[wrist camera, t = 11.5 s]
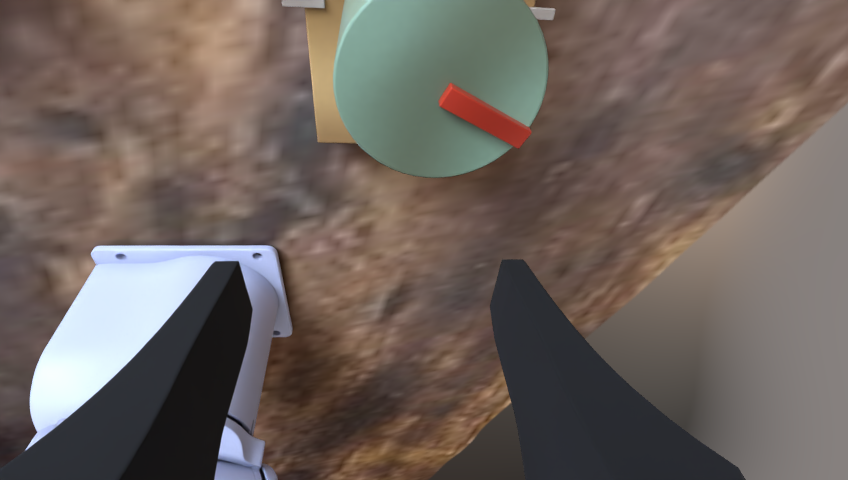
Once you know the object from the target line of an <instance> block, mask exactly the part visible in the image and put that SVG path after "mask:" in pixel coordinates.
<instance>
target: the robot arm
mask: <svg viewBox="0 0 848 480" xmlns="http://www.w3.org/2000/svg"><path fill="white" fill-rule="evenodd" d="M256 253H260V254H261V255H257V254H256ZM123 254H124V255H123ZM91 256H92V258H93V260H94V261H95V263H96V266H95V268H94V270H93V271H92V273H91V275H90V276H89V278H88V279H87V281H86V283H85V284H84V286H83V288H82V289H81V291H80V292H79V294H78V296H77V297H76V299H75V301H74V302H73V304H72V305H71V307H70V309H69V310H68V312H67V314H66V315H65V317H64V318H63V320H62V322H61V323H60V325H59V327H58V328H57V330H56V331H55V333H54V335H53V336H52V338H51V340H50V341H49V343H48V345H47V346H46V348H45V349H44V351H43V353H42V355H41V357H40V359H39V362H38V365H37V367H36V370H35V374H34V377H33V382H32V387H31V393H30V412H31V416H32V420H33V423H34V426H35V428H36V430H37V432H38V433H37V434H36V435H35V437H34V438H33V439H32V441H31V442H30V444H29V446H28V447H27V449H26V450H25V451H24V452H23V453H21V454H20V455H19V456H17V457H16V458H15V459H13V460H12V461H11V462H9V463H8V464H6V465H5V466H4V467H2V468H1V469H0V480H278V478H277V475H276V473H275V471H274V470H273V468H271V467H270V466H269V465H267V464H263V463H262V459H263V454H264V448H265V441H263V440H260V439H257V438H255V437H253V433H254V428H255V423H256V418H257V413H258V408H259V403H260V398H261V392H262V387H263V382H264V377H265V372H266V367H267V362H268V357H269V352H270V346H271V341H272V337H288V336H290V335H291V334H292V330H293V327H292V322H291V317H290V312H289V307H288V302H287V297H286V292H285V287H284V282H283V277H282V272H281V267H280V262H279V257H278V252H277V250H276V249H275V248H274V247H272V246H267V245H251V246H96V247H95V248H94V249H93V251H92V253H91ZM490 310H491V317H492V325H493V331H494V338H495V342H496V346H497V350H498V354H499V358H500V361H501V365H502V369H503V372H504V376H505V380H506V384H507V387H508V391H509V395H510V398H511V402H512V405H513V410H514V414H515V418H516V423H517V427H518V434H519V440H520V445H521V452H522V458H523V465H524V472H525V479H526V480H746V479H745V478H744V476H743V475H742V473H741V472H740V470H739V468H738V467H736V466H735V465H733V464H732V463H730V462H729V461H728V460H726V459H725V458H723V457H722V456H720V455H719V454H717V453H716V452H714V451H713V450H711V449H710V448H709V447H707V446H706V445H704V444H703V443H701V442H700V441H698V440H697V439H695V438H694V437H693V436H691V435H690V434H689V433H688V432H686V431H685V430H683V429H682V428H681V427H680V426H678V425H677V424H676V423H674V422H673V421H672V420H670V419H669V418H668V417H667V416H665V415H664V414H663V413H662V412H660V411H659V410H658V409H657V408H656V407H655V406H653V405H652V404H651V403H650V402H648V400H646V399H645V398H644V397H643V396H642V395H640V394H639V393H638V392H637V391H636V390H635V389H633V388H632V387H631V386H630V385H629V384H628V383H627V382H626V381H625V380H624V379H623V378H621V377H620V376H619V375H618V374H617V373H616V372H615V371H614V370H613V369H612V368H611V367H610V366H609V365H608V364H607V363H606V362H605V361H604V360H603V359H602V358H601V357H600V356H599V354H597V352H596V351H595V350H594V349H593V348H592V347H591V346H590V345H589V343H587V341H586V340H585V339H584V338H583V337H582V336H581V334H580V333H579V332H578V331H577V330H576V329H575V327H574V326H573V325H572V324H571V323H570V321H569V320H568V319H567V318H566V316H565V315H564V314H563V313H562V311H561V310H560V309H559V307H558V306H557V305H556V304H555V302H554V301H553V300H552V298H551V297H550V296H549V294H548V293H547V292H546V290H545V289H544V288H543V286H542V285H541V283H540V282H539V281H538V279H537V278H536V276H535V275H534V274H533V272H532V271H531V269H530V268H529V266H528V265H527V264H526V262H525V261H524V260H502V262H501V265H500V269H499V273H498V277H497V281H496V285H495V288H494V292H493V296H492V300H491V304H490Z"/></svg>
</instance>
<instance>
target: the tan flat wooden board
mask: <svg viewBox="0 0 848 480" xmlns="http://www.w3.org/2000/svg"><path fill="white" fill-rule="evenodd" d="M524 2H525V3H526V4H527V5H528V7H529V8H530V10H531V11H532V13H533V14H534V16H535V17H536V19H538V20H553V19H554V14H555V9H554V8H539V7H535V3H536V0H524ZM343 5H344V0H282V6H287V7H305V16H306V27H307V37H308V47H309V58H310V68H311V79H312V89H313V99H314V110H315V120H316V131H317V140H318V142H319V143H356V141H355V140H354V139H353V138H352V136H351V135H350V133H349V132H348V130H347V129H346V127H345V125H344V123H343V121H342V119H341V117H340V114H339V111H338V108H337V105H336V101H335V96H334V91H333V69H334V60H335V54H336V48H337V42H338V36H339V29H340V23H341V17H342V11H343Z"/></svg>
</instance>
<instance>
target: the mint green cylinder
mask: <svg viewBox="0 0 848 480" xmlns="http://www.w3.org/2000/svg"><path fill="white" fill-rule="evenodd" d="M547 79H548V53H547V46H546V43H545V39H544V35H543V32H542V30H541V28H540V25H539V23H538V21H537V19H536V17H535V16H534V14H533V13H532V11H531V10H530V8H529V7H528V5H527V4H526V3H525V2H524V0H344V5H343V11H342V17H341V23H340V29H339V36H338V42H337V48H336V54H335V60H334V69H333V91H334V96H335V101H336V105H337V108H338V111H339V114H340V117H341V119H342V121H343V123H344V125H345V127H346V129H347V130H348V132H349V133H350V135H351V136H352V138H353V139H354V140H355V141H356V143H357V144H358V145H359V146H360V147H361V148H362V149H363V150H364V151H365V152H366V153H367V154H369V155H370V156H371V157H372V158H374V159H375V160H377V161H378V162H380V163H381V164H383V165H385V166H387V167H389V168H391V169H393V170H396V171H398V172H401V173H404V174H408V175H412V176H418V177H425V178H442V177H452V176H457V175H462V174H465V173H468V172H472V171H474V170H477V169H479V168H482V167H484V166H486V165H488V164H489V163H491V162H493V161H495V160H496V159H498V158H499V157H501V156H502V155H503V154H505V153H506V152H507V151H508V150H509V149H511V148H512V147H513V146H514V147H516V148H518V149H519V148H520V147H521V145H522V144H523V143H524V142H525V141H526V139H527V138H528V137H529V136H530V134H531V133H532V132H531V130H530V128H529V127H530V126H531V124H532V122H533V121H534V119H535V117H536V115H537V113H538V111H539V109H540V106H541V104H542V101H543V98H544V94H545V91H546V86H547Z"/></svg>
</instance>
